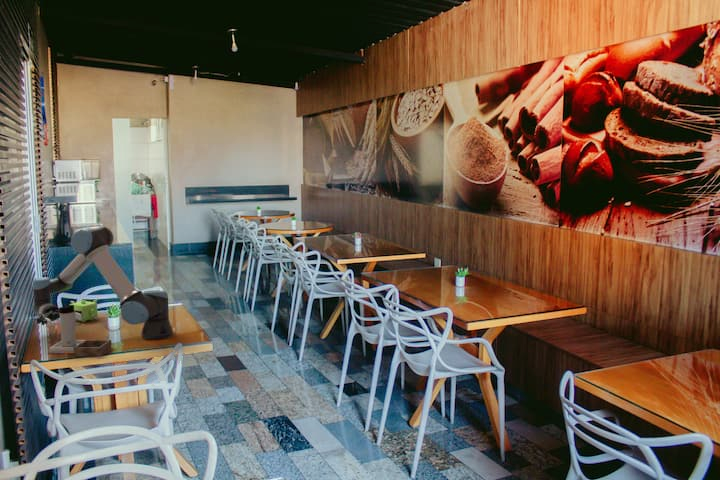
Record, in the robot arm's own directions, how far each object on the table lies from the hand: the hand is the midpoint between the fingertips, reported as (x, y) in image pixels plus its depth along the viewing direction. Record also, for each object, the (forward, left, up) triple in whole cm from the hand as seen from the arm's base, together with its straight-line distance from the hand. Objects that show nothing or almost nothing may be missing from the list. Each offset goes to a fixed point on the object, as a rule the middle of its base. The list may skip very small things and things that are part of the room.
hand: (66, 320), depth 272 cm
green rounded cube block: (+15, -51, -14) cm, 55 cm away
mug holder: (-14, +5, -14) cm, 20 cm away
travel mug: (-1, 0, -13) cm, 13 cm away
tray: (-1, 0, -14) cm, 14 cm away
